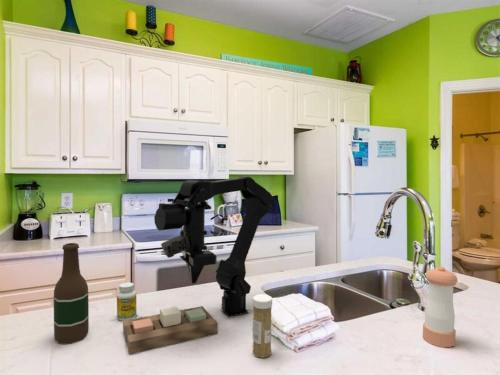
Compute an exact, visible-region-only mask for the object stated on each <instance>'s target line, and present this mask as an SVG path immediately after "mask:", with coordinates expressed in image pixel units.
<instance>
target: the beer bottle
mask: <svg viewBox="0 0 500 375" xmlns="http://www.w3.org/2000/svg"><path fill="white" fill-rule="evenodd" d="M79 248H80V246H79V243H76V242H69V243H65V244H63V245H62V249H61V250H63V256H62V272H61V276H60V278H59V279H58V280H57V282H56V283H55V286H54V290H53V335H54V340H55V341H56V342H57V343H58V344H59V345H67V344H71V345H72V344H74V343H77V342H80V341H82V340H84V339H85V337H87V335H88V334H89V329H90V327H89V324H90V322H89V320H90V319H89V315H90V314H89V306H90V305H89V286H88V283H87V281H86V279H85V277H83V276H82V274H81V269H80V258H79Z"/></svg>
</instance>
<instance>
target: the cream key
mask: <svg viewBox="0 0 500 375" xmlns="http://www.w3.org/2000/svg"><path fill="white" fill-rule="evenodd" d="M179 310H180V309H179V308H178V307H177V305H176V306H174V305H173V306H169V307H164V308H163V307H162V308H159V314H160V321H161V323H162V325H163V327H167V326H172V325H177V324H181V312H180V311H179Z"/></svg>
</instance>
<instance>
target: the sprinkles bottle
mask: <svg viewBox="0 0 500 375" xmlns="http://www.w3.org/2000/svg"><path fill="white" fill-rule="evenodd" d="M272 306H273V298H272V296H270V295H267V294H256V295H253V297H252V307H253V311H252V312H253V316H252V317H253V318H252V340H253V341H252V355H254V356H255V357H256V358H268V357H270V356H271V355H272Z"/></svg>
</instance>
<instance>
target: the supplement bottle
mask: <svg viewBox="0 0 500 375" xmlns="http://www.w3.org/2000/svg"><path fill="white" fill-rule="evenodd" d="M134 288H135V284H134V283H133V282H123V283H120V284H119V286H118V290H119V291H118V292H117V294H116V318H117V320H119V321H122V322H123V321H125V320H130V319H136V318H137V312H138V311H137V292H136V290H135V289H134Z"/></svg>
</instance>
